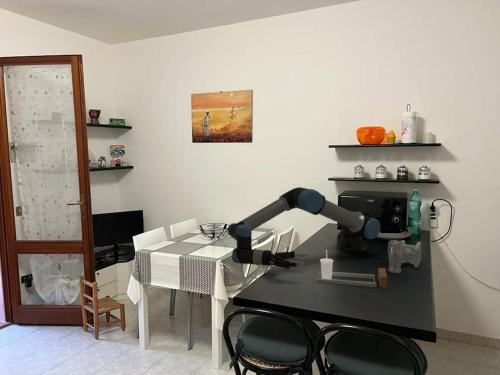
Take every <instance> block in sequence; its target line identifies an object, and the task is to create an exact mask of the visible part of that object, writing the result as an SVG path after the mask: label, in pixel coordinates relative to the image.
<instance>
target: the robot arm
mask: <svg viewBox="0 0 500 375" xmlns="http://www.w3.org/2000/svg"><path fill="white" fill-rule="evenodd" d="M293 209H299V210H302V211H304V212H307V213H309V214H311V215H313V216H318V215H320V216H322V217H324V218H327V219H328V220H330V221H331V220H332V221H334V222H336V223H338V224H341V238H340V240H339V244H338V250H339V251H341V252H345V253H352V254H353V253H362V252H364V251H365V244H364V241H363V238H365V239H367V240H374V239H375V238H376V237H377V236H378V234H379V232H380V229H381V224H380V222H379V220H378V219H376V218H373V217H369V216H367V215H365V214H364V213H363V212H361V211H351V210H349V209H347V208H344V207H342V206H340V205H338V204H336V203H334V202H332V201H330V200H328V199H326V196H325V195H324V194H322V193H321V192H319V191H317V190H315V189H314V188H313V189H312V188H307V187H306V188H305V187H301V186H299V187H295V188H292V189H290V190H288V191H286V192H284V193H283V194H281V195H280V196H279V197H278V199H276V200H274V201H273V202H271V203H269V204H267V205H266V206H264V207H262V208H261V209H259V210H257V211H256V212H254V213H252V214H251V215H249V216H247V217H245V218H243V219H242V220H240V221H238V222H234V223H231V224H229V225H228V227H227V228H226V229H227V234H228V235H229V237H230V238H232V239H234V240H235V241H236V247H235V248H233V250H232V253H231V259H232V261H233V263H235V264H241V265H256V266H268V267H269V266H275V267H280V268H283V269H287V270H289V269H290V268H297V269H298V268H301V269H304V268H305V261H300V260H308V258H309V256H308V255H309V254H308V253H303V252H302V253H301V252H296V251H295V250H293V251H281V252H279V251H278V252H277V251H276V252H274V253H272V251H271V250H269V249H258V248H257V249H253V248H252V246H253V244H252V238H253V237H252V235H253V232H252V231H254V230H255V229H257V228H259V227H260V226H262V225H263V224H266V223H267V222H268V221H270V220H272V219H274V218H275V217H277V216H280V215H281V214H283V213H284V212H286V211H287V212H289V211H291V210H293ZM288 259H289V260H288ZM290 259H295V260H296V259H297V260H299V261H297V260H296V261H295V260H290Z"/></svg>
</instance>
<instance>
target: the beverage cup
mask: <svg viewBox="0 0 500 375" xmlns="http://www.w3.org/2000/svg"><path fill="white" fill-rule="evenodd" d="M325 252H326V253H325V254H326V255H325V258H321V259H319V260H320V268H321V270H320V271H321V273H322V275H321V278H323V279H332V277H333V276H332V272H333V265H334V264H333V263H334V259H333V258H328V249H326V250H325Z"/></svg>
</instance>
